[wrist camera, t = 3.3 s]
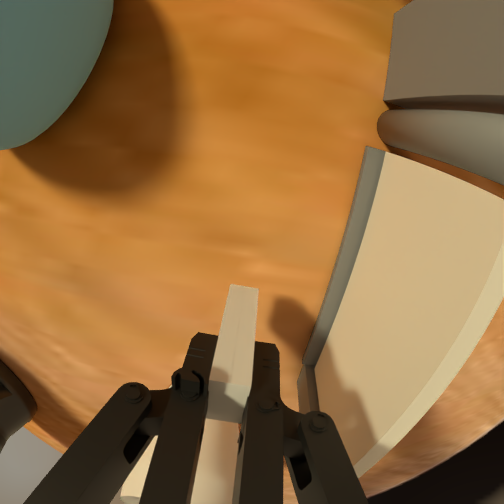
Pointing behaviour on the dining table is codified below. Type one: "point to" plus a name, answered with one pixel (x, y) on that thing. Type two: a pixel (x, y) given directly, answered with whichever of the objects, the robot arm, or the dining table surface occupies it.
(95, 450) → the robot arm
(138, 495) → the cup
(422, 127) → the grey u-shaped bar
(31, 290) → the dining table surface
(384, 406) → the curved cream plank
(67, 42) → the sugar bowl
